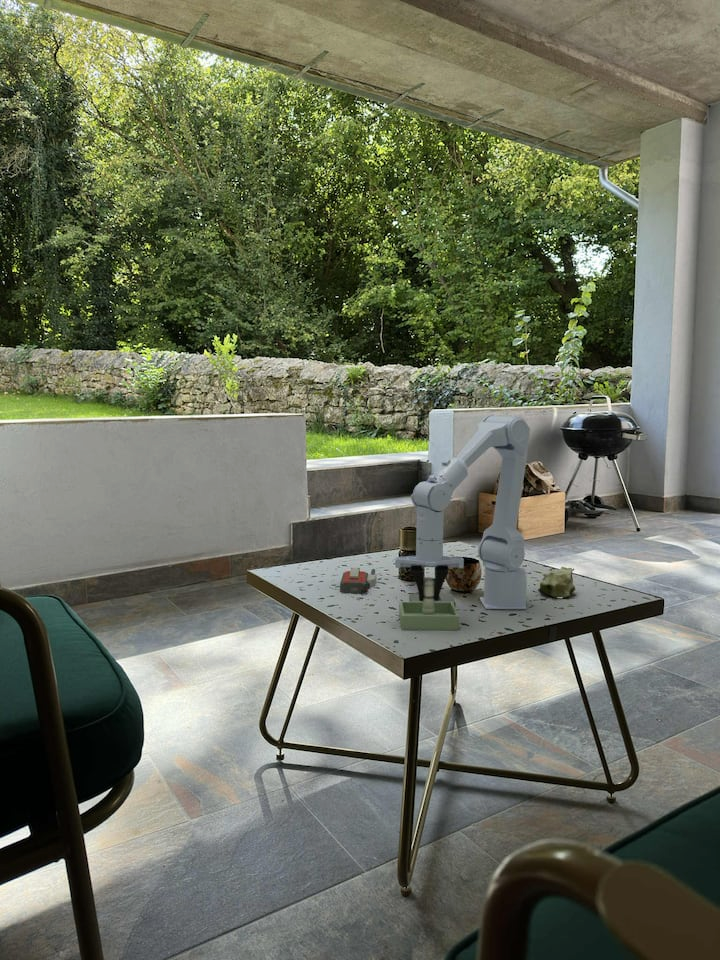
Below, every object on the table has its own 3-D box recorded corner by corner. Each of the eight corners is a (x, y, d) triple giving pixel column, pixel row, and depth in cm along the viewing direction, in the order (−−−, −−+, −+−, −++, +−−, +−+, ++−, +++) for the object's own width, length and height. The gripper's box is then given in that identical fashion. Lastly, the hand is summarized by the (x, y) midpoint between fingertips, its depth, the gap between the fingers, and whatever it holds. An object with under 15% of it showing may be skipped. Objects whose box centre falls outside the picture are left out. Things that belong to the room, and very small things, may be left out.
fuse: (433, 610, 158) (434, 577, 157) (435, 614, 155) (435, 580, 154) (421, 610, 158) (422, 577, 156) (422, 614, 155) (423, 580, 154)
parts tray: (452, 614, 161) (452, 601, 161) (458, 630, 152) (459, 616, 151) (399, 614, 161) (399, 601, 161) (401, 629, 151) (402, 616, 151)
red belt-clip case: (374, 597, 176) (377, 575, 196) (374, 579, 175) (377, 559, 195) (338, 596, 176) (345, 574, 196) (338, 578, 176) (345, 558, 196)
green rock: (565, 593, 183) (573, 564, 181) (576, 608, 174) (585, 577, 172) (530, 587, 182) (538, 557, 181) (540, 601, 173) (548, 570, 171)
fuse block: (451, 601, 171) (451, 593, 171) (455, 611, 164) (455, 602, 164) (409, 601, 171) (409, 593, 171) (411, 611, 164) (411, 602, 164)
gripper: (396, 542, 150) (396, 605, 152) (466, 542, 150) (464, 605, 152) (394, 534, 157) (394, 595, 159) (461, 535, 157) (459, 595, 159)
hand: (428, 599), depth 156 cm, fingers closed on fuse, 3 cm apart
